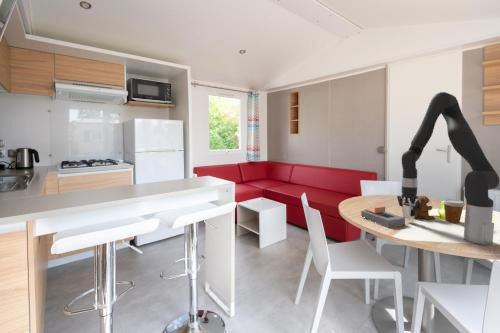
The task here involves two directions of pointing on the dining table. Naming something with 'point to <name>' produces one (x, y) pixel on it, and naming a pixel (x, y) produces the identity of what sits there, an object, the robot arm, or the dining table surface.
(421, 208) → the stuffed squirrel
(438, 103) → the robot arm
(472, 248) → the dining table surface
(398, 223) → the socket block
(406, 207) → the plug
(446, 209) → the disposable coffee cup
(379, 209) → the shutter
